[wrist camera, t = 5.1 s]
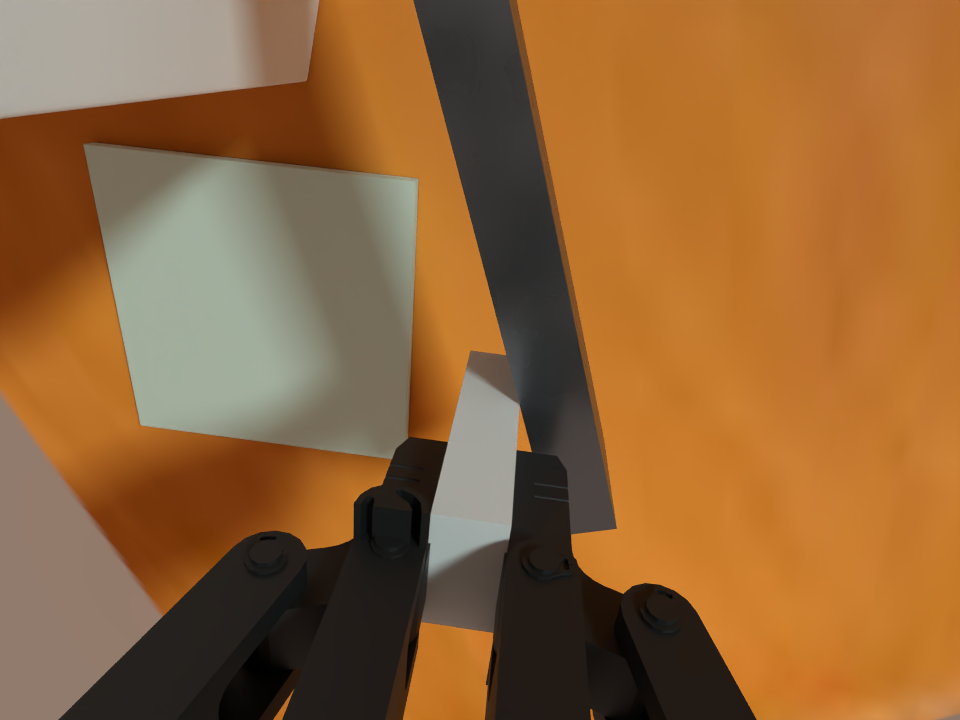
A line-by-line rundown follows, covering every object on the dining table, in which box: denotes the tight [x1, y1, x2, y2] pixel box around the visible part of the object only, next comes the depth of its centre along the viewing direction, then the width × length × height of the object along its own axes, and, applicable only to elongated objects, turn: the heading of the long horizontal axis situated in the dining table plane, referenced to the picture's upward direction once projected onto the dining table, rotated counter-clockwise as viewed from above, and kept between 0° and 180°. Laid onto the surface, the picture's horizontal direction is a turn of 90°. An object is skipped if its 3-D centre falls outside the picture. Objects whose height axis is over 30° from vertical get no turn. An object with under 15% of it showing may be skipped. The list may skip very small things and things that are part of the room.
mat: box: [83, 142, 418, 459], centre depth 26 cm, size 13×13×1 cm
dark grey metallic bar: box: [414, 0, 617, 534], centre depth 12 cm, size 23×3×5 cm, turn 14°
